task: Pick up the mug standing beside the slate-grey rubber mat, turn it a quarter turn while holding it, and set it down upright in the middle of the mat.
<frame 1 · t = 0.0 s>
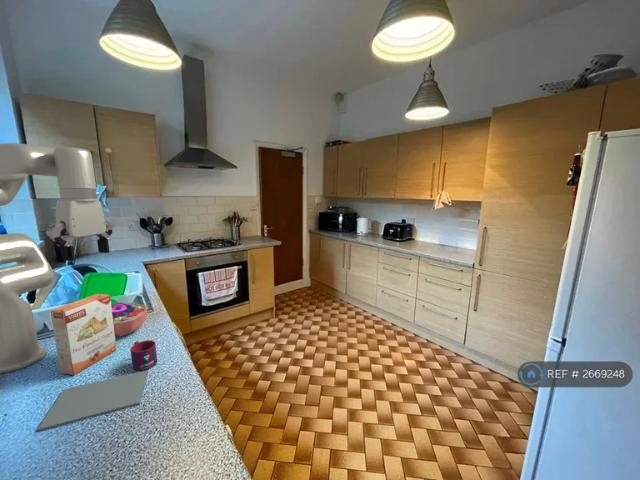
hand: (87, 256, 75), 37 cm above the countertop, tool pointing down, fingers open, 9 cm apart
rubber mat: (100, 397, 72), on the countertop
cell model: (123, 332, 106), on the countertop
mug: (143, 363, 87), on the countertop
cracker box: (90, 361, 88), on the countertop
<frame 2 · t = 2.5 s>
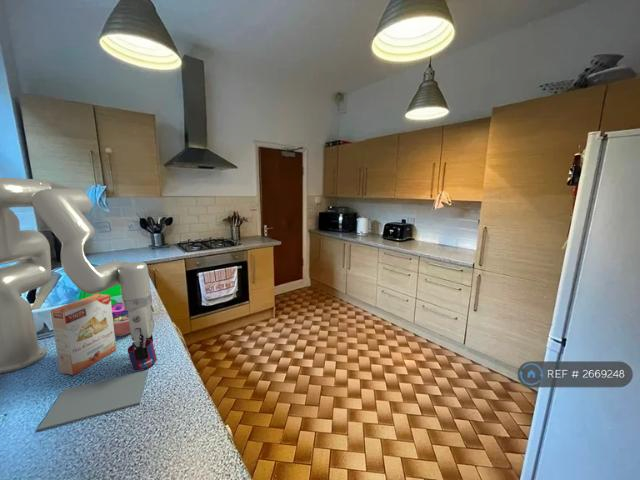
hand: (145, 350, 86), 4 cm above the countertop, tool pointing down, fingers open, 9 cm apart
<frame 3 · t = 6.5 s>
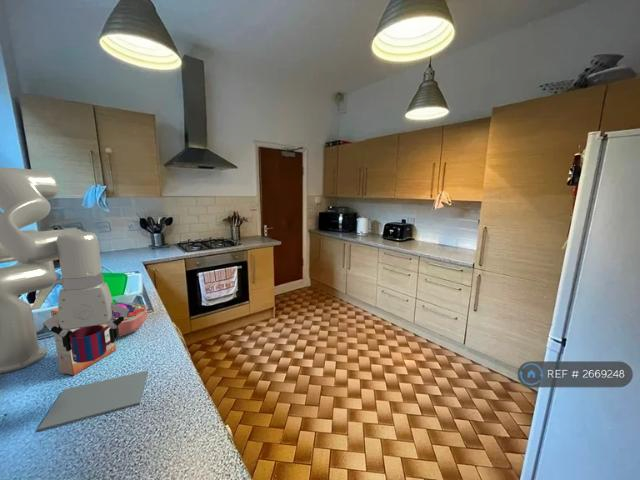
hand: (92, 344, 70), 16 cm above the countertop, tool pointing down, fingers closed on mug, 8 cm apart
mug: (98, 352, 71), point 13 cm above the countertop, touching gripper
everything else where it was.
when the fingers open (4 cm above the countertop, at t = 9.9 s): mug stays where it is, resting on rubber mat.
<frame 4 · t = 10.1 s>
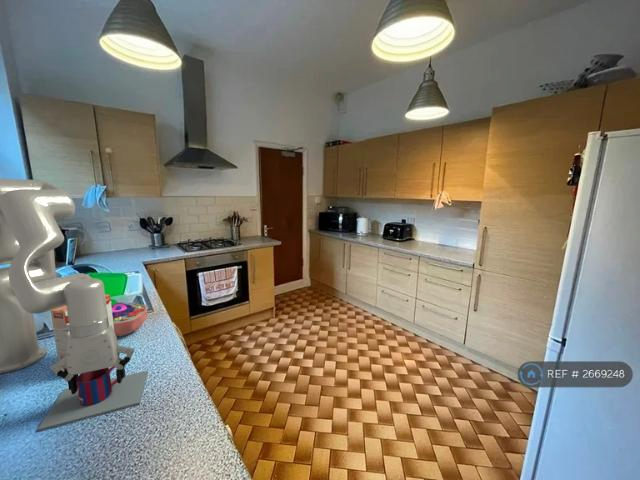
hand: (98, 385, 71), 4 cm above the countertop, tool pointing down, fingers open, 9 cm apart
mug: (104, 393, 73), resting on rubber mat
everything else where it was.
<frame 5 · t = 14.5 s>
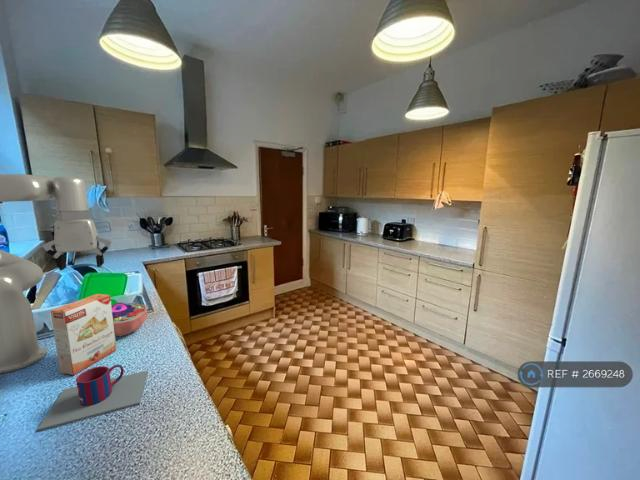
hand: (81, 267, 88), 30 cm above the countertop, tool pointing down, fingers open, 9 cm apart
nothing on the countertop moved.
at the end: mug inside the target area on the rubber mat (1.0 cm from its centre), point 0.4 cm above the rubber mat's base; mug tilted 0°; the gripper is holding nothing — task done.
